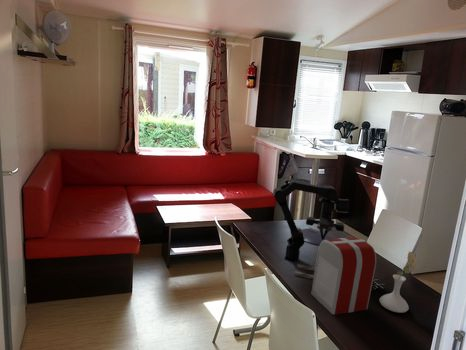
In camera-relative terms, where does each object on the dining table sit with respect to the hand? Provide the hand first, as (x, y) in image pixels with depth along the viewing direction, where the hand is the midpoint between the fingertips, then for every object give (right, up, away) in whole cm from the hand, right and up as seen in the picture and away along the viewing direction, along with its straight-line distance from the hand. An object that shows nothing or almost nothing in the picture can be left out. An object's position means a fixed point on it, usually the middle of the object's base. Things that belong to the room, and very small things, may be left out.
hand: (322, 239), depth 190 cm
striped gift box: (-2, -20, -34) cm, 40 cm away
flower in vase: (+22, -22, -35) cm, 47 cm away
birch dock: (-5, -15, -14) cm, 21 cm away
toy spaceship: (+4, -5, +36) cm, 37 cm away
